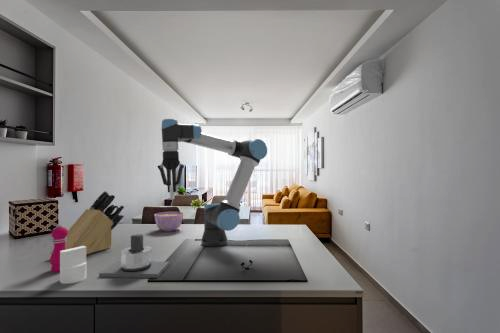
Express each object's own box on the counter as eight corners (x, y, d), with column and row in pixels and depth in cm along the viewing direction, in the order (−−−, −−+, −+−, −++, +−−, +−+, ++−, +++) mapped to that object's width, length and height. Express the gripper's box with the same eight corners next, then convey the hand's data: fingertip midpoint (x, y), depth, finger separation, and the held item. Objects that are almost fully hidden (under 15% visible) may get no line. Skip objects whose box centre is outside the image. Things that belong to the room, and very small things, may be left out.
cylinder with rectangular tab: (67, 285, 107) (67, 253, 107) (55, 280, 112) (55, 250, 112) (91, 277, 115) (91, 247, 115) (79, 273, 119) (79, 244, 119)
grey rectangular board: (169, 264, 129) (169, 261, 129) (157, 277, 114) (157, 274, 114) (118, 264, 130) (118, 261, 130) (99, 276, 115) (99, 273, 115)
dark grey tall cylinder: (145, 261, 125) (145, 234, 125) (140, 265, 120) (140, 237, 120) (134, 261, 125) (134, 234, 125) (128, 265, 120) (128, 236, 120)
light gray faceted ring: (155, 262, 128) (155, 245, 128) (144, 272, 116) (144, 254, 116) (129, 262, 128) (129, 245, 128) (115, 272, 116) (115, 253, 116)
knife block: (125, 244, 165) (125, 190, 165) (64, 262, 133) (64, 196, 133) (112, 241, 170) (112, 190, 170) (49, 259, 138) (49, 195, 138)
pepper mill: (56, 266, 127) (55, 222, 127) (73, 266, 128) (72, 221, 128) (45, 272, 120) (45, 225, 120) (63, 272, 120) (63, 225, 121)
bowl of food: (148, 233, 192) (148, 215, 192) (162, 226, 212) (162, 211, 212) (176, 234, 189) (176, 216, 189) (187, 227, 209) (187, 211, 209)
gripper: (154, 151, 136) (156, 200, 136) (181, 150, 136) (183, 199, 136) (159, 151, 143) (161, 198, 144) (185, 150, 143) (187, 197, 143)
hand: (172, 198), depth 140 cm, fingers closed
